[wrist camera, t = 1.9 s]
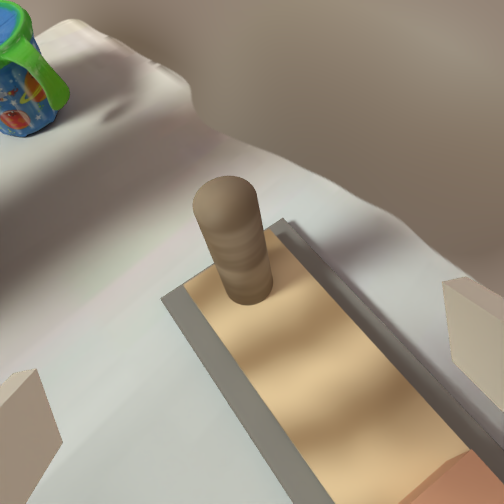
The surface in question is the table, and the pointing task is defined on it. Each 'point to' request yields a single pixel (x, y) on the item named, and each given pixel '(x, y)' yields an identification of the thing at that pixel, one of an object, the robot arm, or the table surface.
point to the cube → (459, 484)
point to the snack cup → (25, 77)
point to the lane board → (258, 414)
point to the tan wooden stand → (312, 359)
